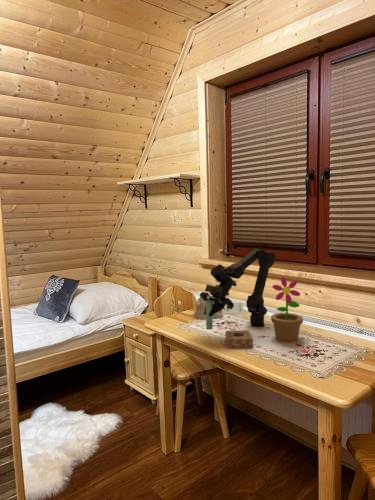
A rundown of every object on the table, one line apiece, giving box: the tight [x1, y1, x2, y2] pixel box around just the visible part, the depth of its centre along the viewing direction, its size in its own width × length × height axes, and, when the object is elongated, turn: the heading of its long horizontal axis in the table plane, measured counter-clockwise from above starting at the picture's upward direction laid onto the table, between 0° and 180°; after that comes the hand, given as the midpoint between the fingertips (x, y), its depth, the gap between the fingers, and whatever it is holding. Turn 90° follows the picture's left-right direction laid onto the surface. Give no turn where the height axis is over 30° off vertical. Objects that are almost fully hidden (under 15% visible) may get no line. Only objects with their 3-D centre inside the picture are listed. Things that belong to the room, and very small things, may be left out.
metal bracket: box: [222, 301, 248, 315], centre depth 220 cm, size 14×6×15 cm
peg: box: [205, 300, 214, 330], centre depth 172 cm, size 3×3×13 cm
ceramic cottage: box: [193, 296, 224, 320], centre depth 212 cm, size 16×16×15 cm
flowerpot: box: [270, 276, 304, 343], centre depth 171 cm, size 14×14×30 cm
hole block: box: [225, 329, 254, 349], centre depth 168 cm, size 11×11×4 cm
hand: (206, 315), depth 171 cm, fingers closed on peg, 3 cm apart
